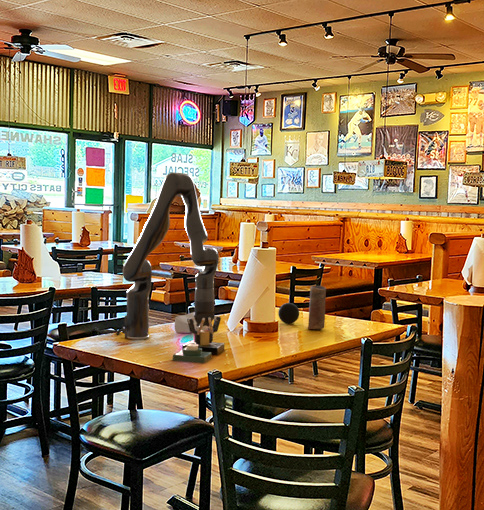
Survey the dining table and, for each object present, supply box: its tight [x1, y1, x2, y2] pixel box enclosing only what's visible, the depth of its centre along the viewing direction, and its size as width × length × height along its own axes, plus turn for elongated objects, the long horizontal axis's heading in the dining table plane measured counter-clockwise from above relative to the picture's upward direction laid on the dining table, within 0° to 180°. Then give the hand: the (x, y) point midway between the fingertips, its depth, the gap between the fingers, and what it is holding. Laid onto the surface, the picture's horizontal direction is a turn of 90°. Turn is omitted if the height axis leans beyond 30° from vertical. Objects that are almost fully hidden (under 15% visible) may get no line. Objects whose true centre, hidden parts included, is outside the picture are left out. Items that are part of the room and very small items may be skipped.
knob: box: [199, 330, 210, 345], centre depth 269 cm, size 4×4×5 cm
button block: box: [172, 347, 213, 364], centre depth 256 cm, size 12×9×4 cm
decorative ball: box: [277, 302, 300, 325], centre depth 335 cm, size 10×10×10 cm
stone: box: [174, 311, 207, 334], centre depth 312 cm, size 11×17×10 cm, turn 137°
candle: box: [307, 285, 327, 331], centre depth 320 cm, size 8×7×20 cm
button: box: [187, 344, 198, 350], centre depth 256 cm, size 4×4×2 cm
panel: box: [181, 340, 226, 357], centre depth 269 cm, size 14×10×3 cm
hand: (203, 343), depth 269 cm, fingers closed on knob, 4 cm apart
